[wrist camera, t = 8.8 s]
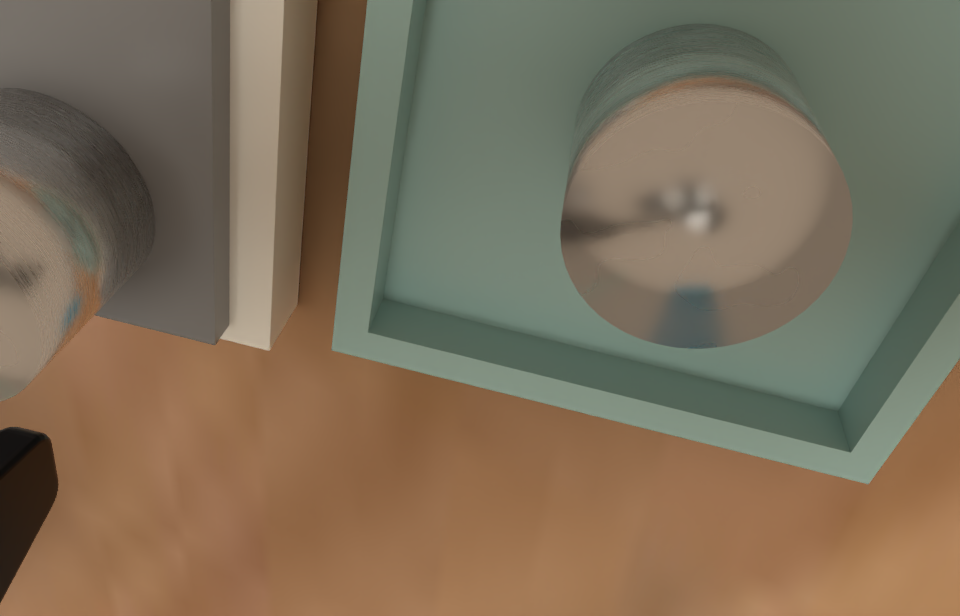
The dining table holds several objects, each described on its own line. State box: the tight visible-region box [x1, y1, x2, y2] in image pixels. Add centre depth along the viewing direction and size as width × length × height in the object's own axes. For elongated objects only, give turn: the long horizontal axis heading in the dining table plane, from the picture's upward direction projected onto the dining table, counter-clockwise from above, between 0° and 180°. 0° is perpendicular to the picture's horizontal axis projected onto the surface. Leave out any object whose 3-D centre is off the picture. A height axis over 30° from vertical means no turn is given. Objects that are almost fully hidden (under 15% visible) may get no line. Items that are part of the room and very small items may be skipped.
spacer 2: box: [560, 24, 853, 349], centre depth 14 cm, size 4×4×4 cm
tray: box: [332, 0, 960, 484], centre depth 16 cm, size 13×13×2 cm
